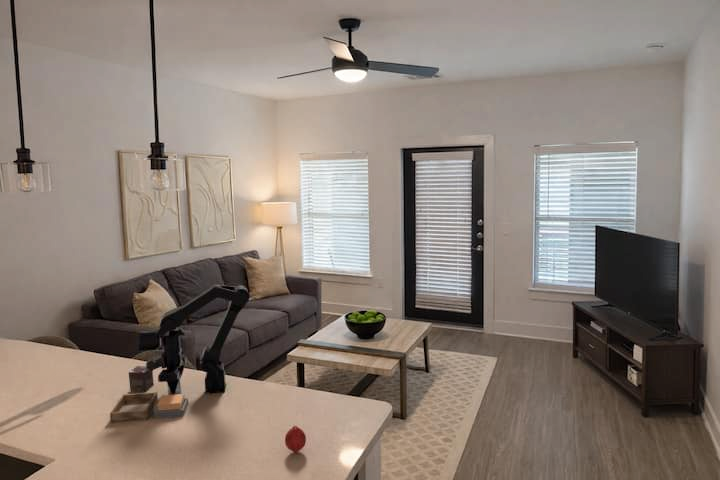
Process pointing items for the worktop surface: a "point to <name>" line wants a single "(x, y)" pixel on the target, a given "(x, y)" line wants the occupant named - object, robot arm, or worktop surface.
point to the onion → (295, 439)
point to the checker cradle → (172, 411)
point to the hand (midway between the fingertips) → (174, 390)
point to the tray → (134, 407)
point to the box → (140, 379)
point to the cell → (178, 389)
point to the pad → (171, 402)
